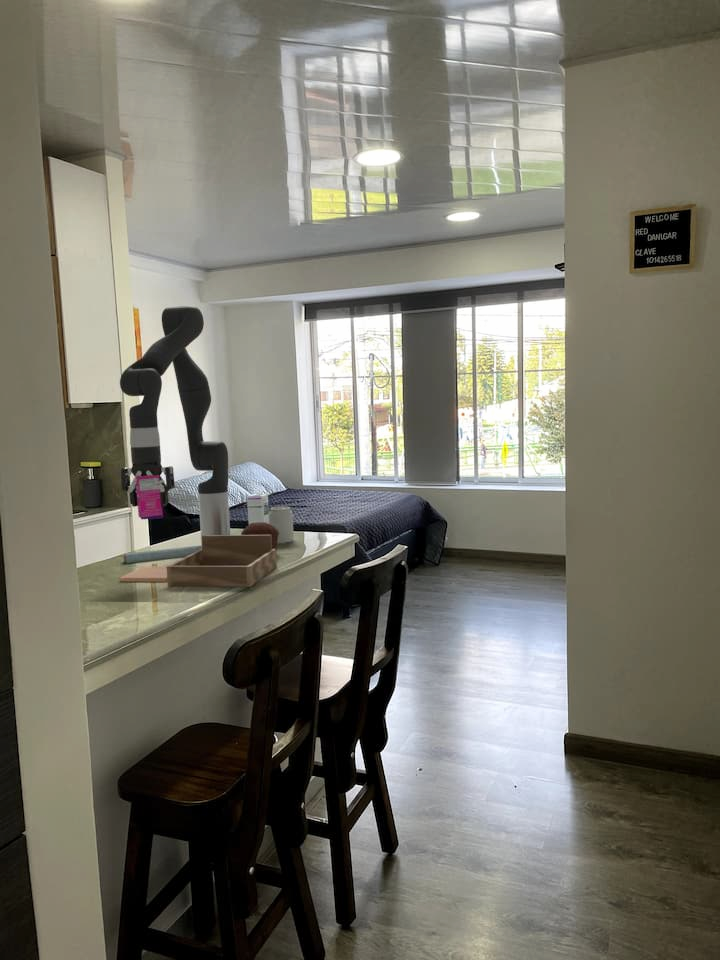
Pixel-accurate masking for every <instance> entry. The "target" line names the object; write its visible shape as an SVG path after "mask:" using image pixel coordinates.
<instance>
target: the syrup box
mask: <svg viewBox="0 0 720 960" xmlns="http://www.w3.org/2000/svg"><path fill="white" fill-rule="evenodd" d="M246 502H247V503H246V505H247V506H246V507H247V519H248V525H250V524H253V523H258V522H264V523H269V513H270V506H269V494H267V493H254V494H253V493H252V494H251V495H248V496H246Z"/></svg>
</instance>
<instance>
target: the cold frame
mask: <svg viewBox="0 0 720 960" xmlns="http://www.w3.org/2000/svg"><path fill="white" fill-rule="evenodd" d="M201 546H202V549H200V550H198V551H196V552H194V553H192V554H190V555H188V556H183V557H181V558H180V559H179V560H177V561H175V562H173V563H171V564H169V565H166V567H167V586H168V587H246V588H247V587H250V588H251V587H253V586H254V585H256V583H258V582H259V581H261V579H263V578H264V577H265V576H266V575H268V574H270V573H271V572H272V571H273V570H275V569H276V568H277V565H278V564H277V563H278V562H277V550H276V549H272V535H241V534H230V535H202V545H201Z"/></svg>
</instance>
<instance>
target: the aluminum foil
mask: <svg viewBox="0 0 720 960" xmlns="http://www.w3.org/2000/svg"><path fill="white" fill-rule="evenodd" d="M200 549H202V545H193V546H184V547H174V548H165V549H164V548H163V549H156V550H155V549H154V550H146V551H136V552H127V553H124V555H123V559H124V561H123V562H124V564H131V563H140V562H148V561H156V560H157V559H158V560H166V559H175V558H184V557H186V556H188V555H190V554H192V553H194V552H196V551H198V550H200Z"/></svg>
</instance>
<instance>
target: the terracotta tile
mask: <svg viewBox="0 0 720 960" xmlns="http://www.w3.org/2000/svg"><path fill="white" fill-rule="evenodd" d="M119 582H126V583H127V582H128V583H129V582H132V583H133V582H135V583H136V582H145V583H146V582H148V583H149V582H152V583H153V582H155V583H156V582H159V583H160V582H161V583H162V582H163V583H165V582H167V583H168V581H167V566H141V567H139V568H137V569H134V570H133V571H131V572H129V573H126V574H124V575H122V576H120V577H119Z"/></svg>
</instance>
